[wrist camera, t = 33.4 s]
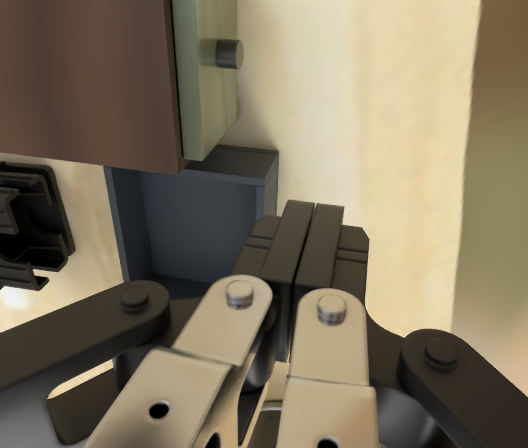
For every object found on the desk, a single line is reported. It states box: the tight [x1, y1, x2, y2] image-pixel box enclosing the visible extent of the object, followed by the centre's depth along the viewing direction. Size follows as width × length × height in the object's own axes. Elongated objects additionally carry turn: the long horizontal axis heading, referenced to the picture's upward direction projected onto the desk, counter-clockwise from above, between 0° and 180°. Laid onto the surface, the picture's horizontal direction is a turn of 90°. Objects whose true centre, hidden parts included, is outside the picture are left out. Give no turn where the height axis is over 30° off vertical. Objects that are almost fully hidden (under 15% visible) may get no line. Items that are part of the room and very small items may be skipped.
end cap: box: [0, 161, 75, 291], centre depth 40 cm, size 10×7×7 cm
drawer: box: [170, 0, 243, 161], centre depth 28 cm, size 14×10×7 cm
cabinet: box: [0, 0, 190, 175], centre depth 29 cm, size 14×12×9 cm
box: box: [103, 144, 279, 300], centre depth 37 cm, size 14×12×5 cm
